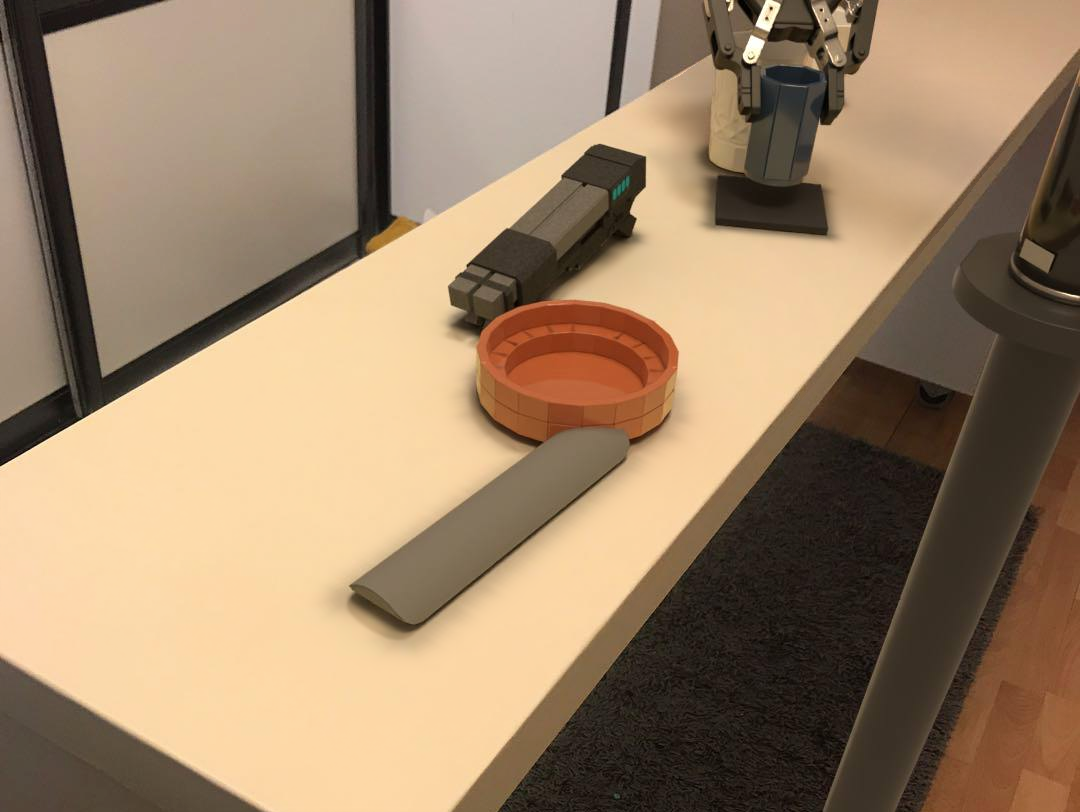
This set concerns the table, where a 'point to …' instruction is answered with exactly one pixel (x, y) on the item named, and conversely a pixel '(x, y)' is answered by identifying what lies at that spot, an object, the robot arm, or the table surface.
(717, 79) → the white cup
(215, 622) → the table surface
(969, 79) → the table surface
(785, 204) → the mat
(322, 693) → the table surface
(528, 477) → the gray half cylinder
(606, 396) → the big bowl
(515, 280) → the gun
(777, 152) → the octagonal grey canister
